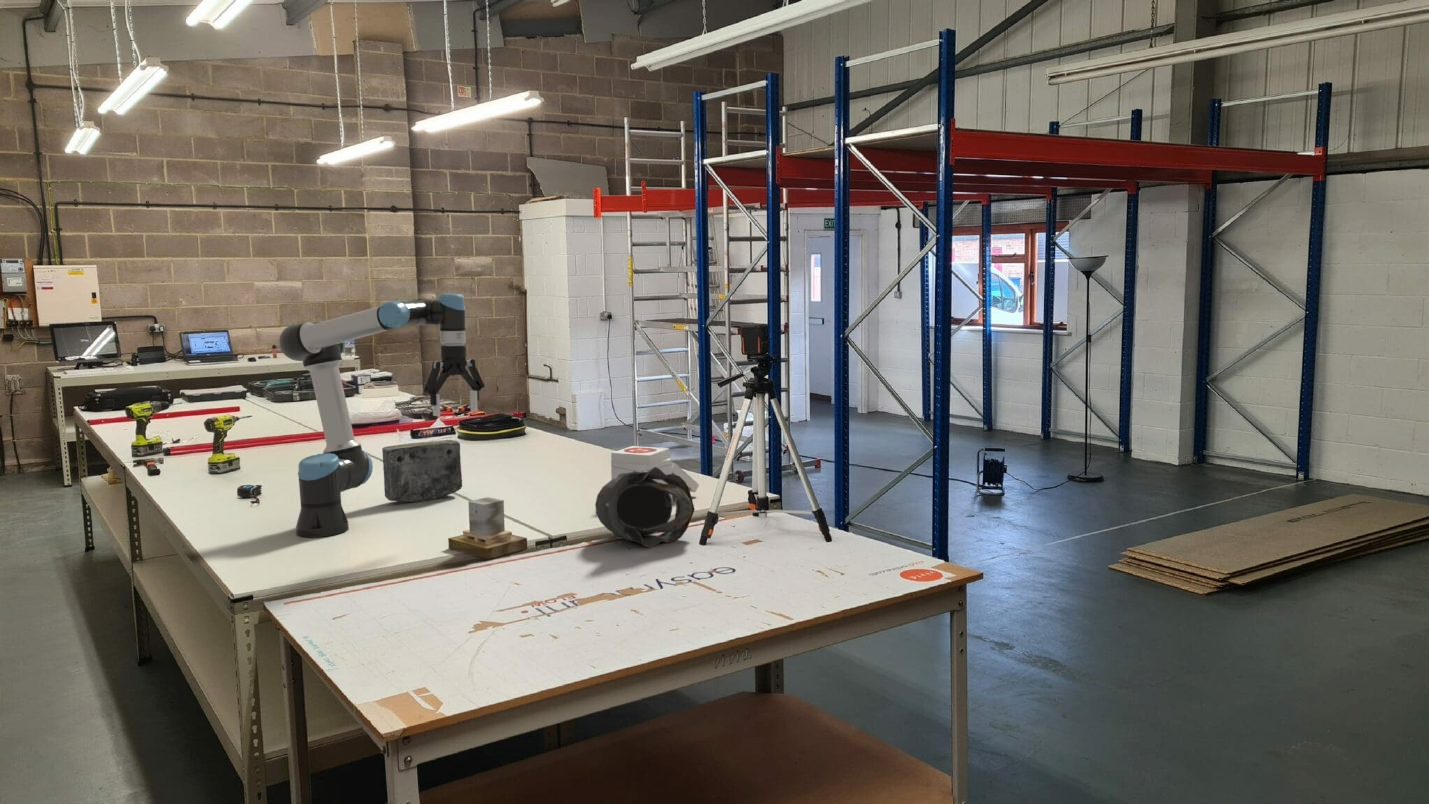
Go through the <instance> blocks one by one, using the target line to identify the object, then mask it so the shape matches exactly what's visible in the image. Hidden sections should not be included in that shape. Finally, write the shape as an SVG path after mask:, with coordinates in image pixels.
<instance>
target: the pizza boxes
mask: <svg viewBox="0 0 1429 804" xmlns="http://www.w3.org/2000/svg"><path fill="white" fill-rule="evenodd" d="M670 451H671V450H670V448H669V447H654V446H653V447H651V446H640V445H639V446H638V445H637V446H635V445H631V446H629V447H624V448H622V449H619V450H615V451H612V452H610V456H611V457H610V458H611V460H610V467H611V468H610V469H611V471H610V472H611V473H610V475H611V477H610V478H611V480H613V479H615V478H617V477H618V475H619V474H621V473H624V472H633V471H636V472H647V471H649V470H651V469H652V468H654V467H657V468H659V469H660V470H661V471H662V472H663V473H664V474H665V475H669V474H675V475H677V476H680V477H681V478H682V479H683V480H684V481H685V483H686V484H687V486H688V488H689V490H690V493H696V492H697V490H698V489H699V487H700V484H699V483H698V482H697V481H696V480H694V478H693V477H691V476H690V475H689V474H688V473H687V472H686V471H684V469H682V468H681V466H679V464H677V463H676V462H673V460H672V459H671V456H670V455H671V452H670ZM653 480H654V481H656V482H658V483H663V484H667V483H665V482H664V481H663V480H661V479H660V480H658V479H653ZM669 495H670V497H671V499H672V500H673V496H672V495H671V494H669Z"/></svg>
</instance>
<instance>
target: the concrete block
mask: <svg viewBox="0 0 1429 804" xmlns="http://www.w3.org/2000/svg"><path fill="white" fill-rule="evenodd" d="M382 463H383V465H382V466H383V485H384V486H383V487H384V497H385V498H386V499H387V500H388V501H391V502H402V503H404V502H405V503H406V502H407V503H409V502H410V503H411V502H412V503H413V502H414V503H415V502H417V503H418V502H426V501H433V500H437V499H440V498H443V497H446V496H449V495H451V494H454V493H457V492H459V491H460V490H461V489H462V487H463V480H462V479H463V477H462V476H463V475H462V462H461V444H460V442H459V441H458V440H453V439H445V440H442V439H441V440H434V441H433V440H432V441H430V440H429V441H423V442H421V441H420V442H412V443H411V442H410V443H404V444H397V445H389V446H384V447H382Z"/></svg>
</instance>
